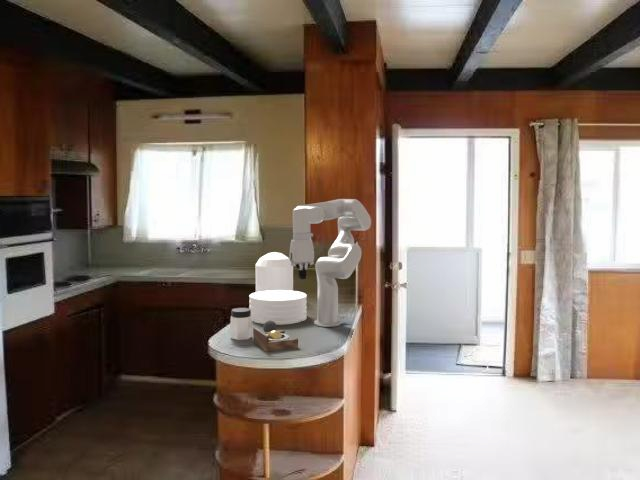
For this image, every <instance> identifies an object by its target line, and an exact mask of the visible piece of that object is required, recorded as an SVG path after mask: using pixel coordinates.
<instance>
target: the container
mask: <svg viewBox="0 0 640 480" xmlns="http://www.w3.org/2000/svg"><path fill="white" fill-rule="evenodd" d="M290 264H291V262H290V259H289V257H288V256H287V255H285V254H284V253H282V252H276V251H273V252H268V253H266V254H264V255H263V256H261V257H259V259H257V262H256V263H255V266H254V267H255V292H259V291H267V290H291V291H294V266H291V265H290Z"/></svg>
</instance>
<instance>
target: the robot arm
mask: <svg viewBox="0 0 640 480" xmlns="http://www.w3.org/2000/svg"><path fill="white" fill-rule="evenodd" d="M334 219H337V231H338V232H337V234H338V235H337V237H336V239H335V240H334V242H333V243H332V244H331V246H330V247H329V249H328V251H327V256H321V257H319V258H318V259H317V260H316V262H314V260H315V250H314V243H313V240H312V238H313V237H314V233H312V232H311V224H320V223H322V222H323V221H330V220H331V221H332V220H334ZM371 226H372V218H371V216H370V214H369V213H368V211H367V209H366V208H365V206H364V205H363V204H362V202H361V201H359V200H358V199H356V198H338V199H333V200H328V201H323V202H315V203H308V204H301V205H297V206H296V207H295V208H294V209H292V239H291V241H290V246H289V255H288V256H289V257H288V258H289V259H290V262H291V264H290V265H291V266H293V267H296V269H297V270H298V278H299V279H300V280H306V278H307V270H308V268H309V267H310V266H312V265H315V273H316V274H315V275H316V282H317V297H316V299H317V305H316V306H317V310H316V311H317V314H316V315H317V316H316V317H317V319H315V320H314V321H313V323H314V325H315V326H317V327H323V328H326V327H327V328H330V327H331V328H332V327H334V328H335V327H338V326H340V325H342V321H341V320H345V319H348V315H347V314H339V310H338V309H339V305H338V304H339V297H338V296H339V287H338V283H337V281H336V279H341V280H347V279H348V278H350V277H351V275H352V274H353V273H354V271H355V269H356V268H357V266H358V264H359V263H360V261H361V258H362V248H361V247H360V245H359V244H357V243H355V239H354V236H353V234H352V233H351V231H363V232H364V231H367V230H369V229H370V228H371Z"/></svg>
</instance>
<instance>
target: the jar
mask: <svg viewBox="0 0 640 480" xmlns="http://www.w3.org/2000/svg"><path fill="white" fill-rule="evenodd" d="M230 311H231V316H230V339H232V340H236V341H242V340H243V341H244V340H245V341H246V340H250V339H251V338H252V337H253V332H252V331H253V328H252V327H253V321H252V315H251V309H249V307H248V308H247V307H237V308H236V307H235V308H232V309H231V310H230Z"/></svg>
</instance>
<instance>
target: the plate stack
mask: <svg viewBox="0 0 640 480" xmlns="http://www.w3.org/2000/svg"><path fill="white" fill-rule="evenodd" d="M248 297H249V301H248V302H249V303H248V305H249V306H248V308H249V309H251V315H252V322H253V321H254V322H253V323H256V324H257V323H258V324H261V325H264V323H265V322H267V321H269V320H271V321H274V322H275V323H276V325H290V324H291V325H292V324H297V323H300V322H301V321H302V322H303V321H306V320H307V316H308V314H307V308H308V306H307V302H308V300H307V297H308V295H307V294H306V293H305V292H302V291H298V290H293V291H291V290H267V291H259V292H256V291H255V292H252V293H250V294H249V295H248Z"/></svg>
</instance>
